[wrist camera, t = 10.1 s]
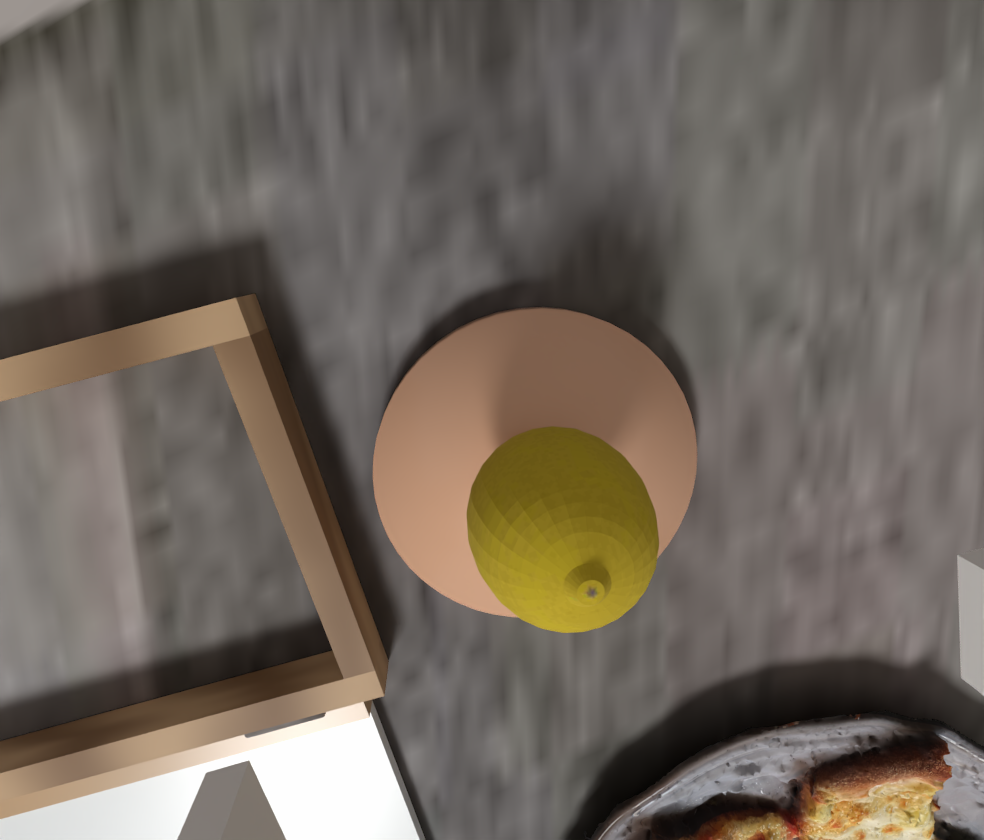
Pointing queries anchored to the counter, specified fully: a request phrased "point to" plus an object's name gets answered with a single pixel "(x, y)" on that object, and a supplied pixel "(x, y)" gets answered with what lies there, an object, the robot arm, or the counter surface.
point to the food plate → (817, 785)
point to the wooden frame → (309, 527)
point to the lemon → (562, 529)
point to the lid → (279, 768)
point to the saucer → (520, 429)
